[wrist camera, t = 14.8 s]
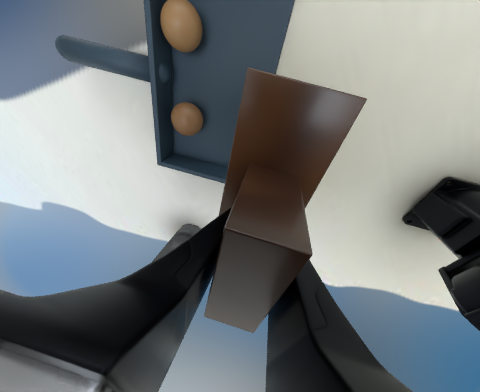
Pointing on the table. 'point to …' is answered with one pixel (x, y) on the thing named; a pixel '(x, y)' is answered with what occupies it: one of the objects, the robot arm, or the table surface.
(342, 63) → the table surface
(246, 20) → the dustpan
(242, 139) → the brush
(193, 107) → the brown rounded piece
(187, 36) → the light brown ball
